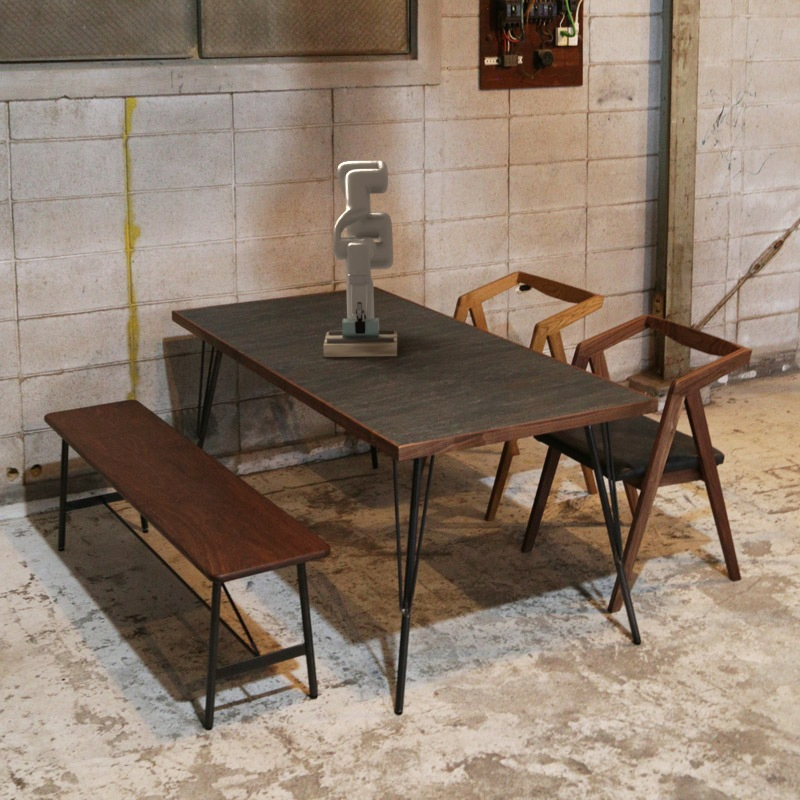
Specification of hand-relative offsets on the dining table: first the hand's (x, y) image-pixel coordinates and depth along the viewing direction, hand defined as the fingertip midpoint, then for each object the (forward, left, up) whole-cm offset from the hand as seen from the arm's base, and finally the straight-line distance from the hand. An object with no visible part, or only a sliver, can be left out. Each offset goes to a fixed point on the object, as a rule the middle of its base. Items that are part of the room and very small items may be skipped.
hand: (360, 329), depth 430 cm
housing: (0, 0, -3) cm, 3 cm away
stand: (0, 0, -7) cm, 7 cm away
